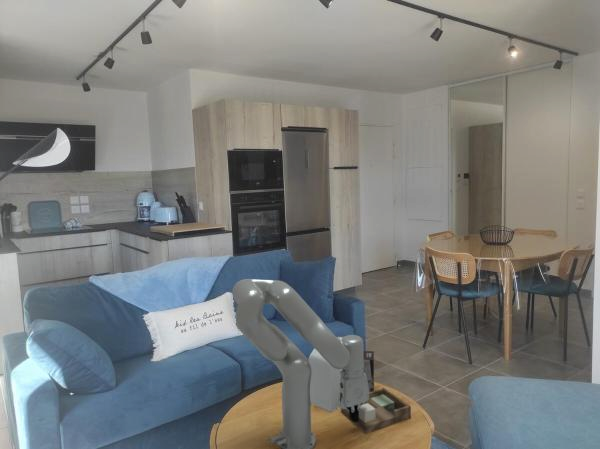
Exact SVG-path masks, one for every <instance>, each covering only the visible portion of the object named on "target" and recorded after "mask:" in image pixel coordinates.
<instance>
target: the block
mask: <svg viewBox="0 0 600 449" xmlns="http://www.w3.org/2000/svg"><path fill="white" fill-rule="evenodd" d="M359 418H360V419H361V420H362V421H363V422H365V423H367V422H369V421H372V420H375V419H376V411H375V408H374V407H372V406H371V405H370V404H368V403H367V404H364V405H361V407H360V410H359Z"/></svg>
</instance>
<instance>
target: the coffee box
mask: <svg viewBox="0 0 600 449" xmlns="http://www.w3.org/2000/svg"><path fill="white" fill-rule="evenodd" d="M374 354H375V351H372V350H363V357H364V373H366V376H367V381H368V387H369V392H372V391H375V356H374Z"/></svg>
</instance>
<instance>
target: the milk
mask: <svg viewBox="0 0 600 449" xmlns="http://www.w3.org/2000/svg"><path fill="white" fill-rule="evenodd" d="M308 361H309V363H310V365H311V369H312V375H311V382H310V405H313V406H315V407H319V408H320V409H322V408H323V409H322V410H325V411H327V412H329V413H333V412H335V410H337V409H338V408H341V407H340V404H341V402H340V400H339V385H340V378H341V375H340V374H339V372H340V371H342V369H335V368H333V367H332V366H331V365H330V364H329V363H328V362H327V361H326V360H325V359H324V358H323V357H322V356H321V355H320V353H319V352H318V351H317V350H316V349H315V348H314V347H313V350H312V351H311V352H310V355H309V356H308Z"/></svg>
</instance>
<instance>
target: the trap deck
mask: <svg viewBox="0 0 600 449" xmlns="http://www.w3.org/2000/svg"><path fill="white" fill-rule="evenodd" d="M367 403H368V404H370V405H371V406H372V407H374V408H375V411H376V419H375V420H372V421H369V422H367V423H365V422H363V421H362V420H361V419H360V418H359V421H358V422H356V423H354V422H353V421H352V420H351V419H350V418H349V409H342V408H341V407H340V410H341V411H340V412H341V413H342V415H344V416H345V417H346V418H347V419H349V421H350V422H352V423H353V424H354V425H356V426H357V428H358V429H360V430H361V431H362V432H364V433H365V434H370V433H373V432H375V431H378V430H381V429H383V428H386V427H389V426H391V425H395V424H397V423H401V422H403V421H406V420H409V419H411V418H412V416H411V414H412V413H411V412H412V406H411V405H409V404H408V403H406V401H404V400H403V399H400V398H399V397H397V395H395V394H393V393H392V392H391V391H389V390H387V389H385V388H384V387H382V388H378V389H376V390H375V389H374V391H372V392H369V400H368V401H366V402H364V403H363V404H362V405H364V404H367Z"/></svg>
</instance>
